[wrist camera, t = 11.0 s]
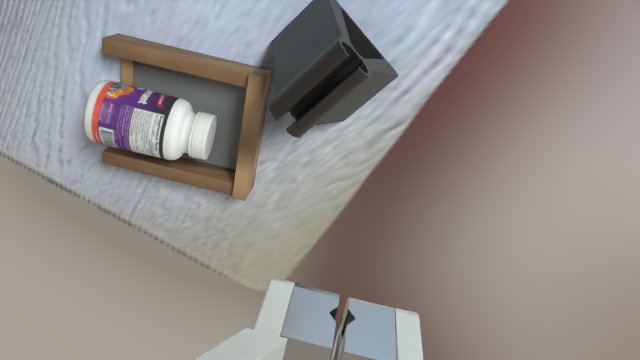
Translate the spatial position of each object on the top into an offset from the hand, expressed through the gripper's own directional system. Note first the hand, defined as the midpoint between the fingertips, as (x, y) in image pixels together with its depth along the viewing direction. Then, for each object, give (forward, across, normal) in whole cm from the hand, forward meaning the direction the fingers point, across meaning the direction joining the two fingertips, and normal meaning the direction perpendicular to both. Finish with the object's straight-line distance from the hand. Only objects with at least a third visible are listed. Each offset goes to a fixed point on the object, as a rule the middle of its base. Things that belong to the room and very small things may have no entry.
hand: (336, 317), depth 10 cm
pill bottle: (+27, +22, +9) cm, 36 cm away
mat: (+31, +15, +9) cm, 36 cm away
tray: (+31, +15, +9) cm, 36 cm away
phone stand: (+31, +3, +1) cm, 31 cm away
